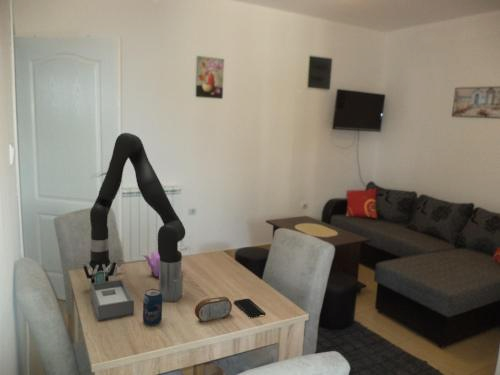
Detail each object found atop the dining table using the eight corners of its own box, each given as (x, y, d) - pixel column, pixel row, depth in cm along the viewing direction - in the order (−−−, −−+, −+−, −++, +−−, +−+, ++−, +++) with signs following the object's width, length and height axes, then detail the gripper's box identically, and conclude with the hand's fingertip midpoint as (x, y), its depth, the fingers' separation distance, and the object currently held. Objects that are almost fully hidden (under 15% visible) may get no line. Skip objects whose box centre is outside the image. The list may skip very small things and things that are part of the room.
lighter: (108, 276, 182) (108, 260, 181) (107, 275, 184) (107, 259, 182) (123, 274, 186) (123, 258, 185) (122, 273, 187) (122, 257, 186)
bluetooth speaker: (228, 313, 153) (230, 294, 152) (232, 317, 151) (233, 297, 149) (194, 320, 146) (194, 300, 145) (197, 324, 143) (197, 303, 142)
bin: (122, 292, 166) (122, 279, 165) (133, 314, 147) (133, 300, 147) (90, 297, 160) (90, 283, 159) (98, 321, 141) (98, 306, 140)
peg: (105, 289, 168) (106, 272, 167) (100, 292, 165) (100, 274, 164) (99, 287, 170) (99, 270, 168) (93, 290, 166) (93, 273, 165)
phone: (248, 298, 167) (266, 313, 154) (248, 300, 167) (266, 316, 154) (232, 301, 163) (249, 317, 150) (232, 303, 163) (249, 319, 150)
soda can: (144, 327, 139) (144, 297, 137) (141, 318, 145) (142, 289, 143) (163, 325, 141) (164, 294, 140) (159, 316, 148) (160, 287, 146)
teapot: (178, 268, 197) (179, 245, 195) (184, 276, 188) (185, 252, 186) (139, 273, 188) (139, 249, 186) (143, 281, 179) (144, 256, 177)
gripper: (115, 244, 171) (115, 279, 174) (81, 247, 164) (81, 284, 167) (118, 249, 165) (118, 286, 167) (82, 252, 158) (83, 291, 160)
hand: (99, 285), depth 167 cm, fingers open, 4 cm apart
